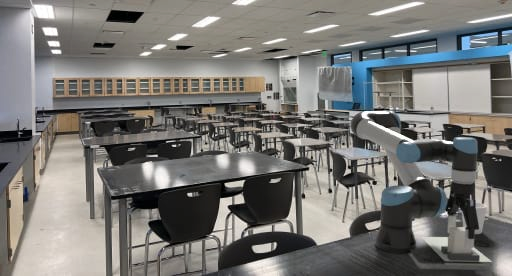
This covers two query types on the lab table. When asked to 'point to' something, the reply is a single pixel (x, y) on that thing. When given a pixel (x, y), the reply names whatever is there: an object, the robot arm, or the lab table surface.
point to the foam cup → (478, 216)
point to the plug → (457, 241)
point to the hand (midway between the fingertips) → (459, 239)
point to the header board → (442, 247)
